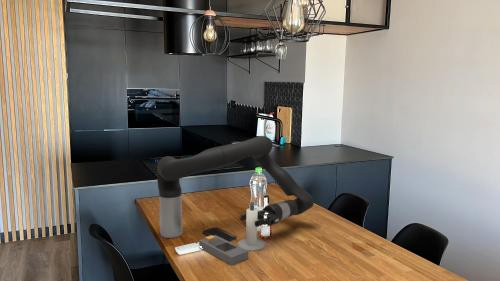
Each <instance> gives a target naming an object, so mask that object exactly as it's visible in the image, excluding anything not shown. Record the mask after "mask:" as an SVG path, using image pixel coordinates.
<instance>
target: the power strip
mask: <svg viewBox="0 0 500 281" xmlns="http://www.w3.org/2000/svg"><path fill="white" fill-rule="evenodd" d="M199 245H200V246H202V248H203V249H202V250H203V251H204V252H206V253H208V254H210V255H212V256H214V257H216V258H217V259H219V260H220V261H223V262H225V263H226V264H228V265H230V266H234V265H236V264H238V263H241V262H244V261H246V260H249V251H247V250H245V249H243V248H241V247H239V246H238V244H235V243H234V242H233V243H232V241H230V242H229V241H227V240H225V239H223V238H221V237H218V236H216V235H214V236H212V235H211V236H206V237H204V238H201V239H199V240H198V246H199Z"/></svg>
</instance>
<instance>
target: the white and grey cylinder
mask: <svg viewBox="0 0 500 281" xmlns="http://www.w3.org/2000/svg"><path fill="white" fill-rule="evenodd" d="M245 211H246V220H245V221H246V222H245V223H246V225H245V230H246V231H245V232H246V234H245V235H246V236H245V237H246V238H245V239H246V244H247V245H249V246H255V245H257V239H258V227H256V226H255V221H257V218H258V211H259V210H258V208H257V209H255V201H254V202H253V201H250V202H249V208H247V209H246V210H245Z"/></svg>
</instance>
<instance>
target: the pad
mask: <svg viewBox="0 0 500 281" xmlns="http://www.w3.org/2000/svg"><path fill="white" fill-rule="evenodd" d="M237 246H239V247H241V248H243V249H245V250H247V251H248V252H257V251H261V250H264V248H266V242H265V240H263V239H261V238H257V245H255V246H249V245H247V244H246V238H243V239H241V240H239V241H238V242H237Z"/></svg>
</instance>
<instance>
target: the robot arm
mask: <svg viewBox="0 0 500 281" xmlns="http://www.w3.org/2000/svg"><path fill="white" fill-rule="evenodd" d="M273 147H274V145H273V141H272V139H271V138H270V137H268V136H266V135H258V136H255V137H252V138H249V139H246V140H244V141H239V142H235V143H229V144H225V145H219V146H216V147H215V146H214V147H211V148H208V149H205V150H203V151H201V152H200V153H198V154H195V155H193V156H190V157H189V156H188V157H184V158H175V157H174V156H170V155H168V156H163V157H162V158H160V159H159V161H158V163H157V166H156V174H157V180H156V181H157V188H158V195H159V196H158V197H159V199H158V200H159V211H158V214H159V215H158V217H159V233H160V237H162V238H166V239H167V238H168V239H174V238H177V237H180V236H182V235H183V202H182V197H183V196H182V186H181V182H180V180H181V179H184V178H186V177H188V176H191V175H195V174H198V173H204V172H208V171H211V170H212V171H213V170H217V169H221V168H225V167H226V168H227V167H228V166H231V165H233V164H236V163H237V162H239V161H241V160H243V159H246V158H249V157H251V158H253V159H254V160H255V161H256V162H257V164H258V165H260V167H262V168H263V169H264V170H265V171H266V172H267V173H268V175H269V176H270V177H271V178H272V179H273V180H274V182H275V183H276V184H277V185H278V187H280V189H281V190H282V192H283V193H284V194H285V195H286V196H287V197H291V196H294V197H296V198H294V199H285V200H283V201H277V202H274V203H271V204H268V205H265V206H264V208H263V209H260V210H258V208H257V207H256V208H255V207H254V208H255V209H257V210H258V218H257V221H255V226H256V227H257V228H258V227H260V226H267V227H271V226H274V225H276V224H279V221H283V220H286V219H287V218H289V217H293V216H299V215H301V214H303V213H305V212H307V211H308V210H310V209H311V208H313V207H314V205H315V204H314V202H315V201H314V198H313V196H312V195H311V194H310V193H309V192H308V191H307V190H305V189H304V188H303V187H302V186H300V185H299V184H298V183H297V182H296V180H295V179H294V178H293V176H291V174H290V173H289V172H288V171H287V170H286V169H284V168H283V167H282V166H280V165H278V163H276V162H275V160H274V159H273V158H272V157H271V155H270V153H271V152H272V149H273ZM240 221H242V222H244V221H246V210H245V213H244V214H241V215H240Z"/></svg>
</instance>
